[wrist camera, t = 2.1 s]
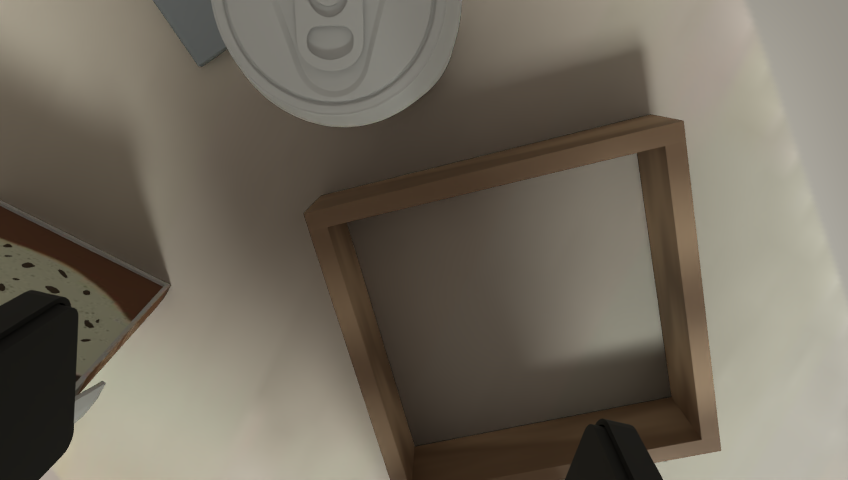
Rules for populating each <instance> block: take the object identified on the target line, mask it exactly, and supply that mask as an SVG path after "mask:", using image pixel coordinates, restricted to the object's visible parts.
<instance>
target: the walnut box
mask: <svg viewBox="0 0 848 480" xmlns="http://www.w3.org/2000/svg"><path fill="white" fill-rule="evenodd" d="M634 153H637V155H638V162H639V169H640V176H641V183H642V191H643V198H644V205H645V212H646V219H647V226H648V233H649V240H650V248H651V255H652V262H653V269H654V276H655V283H656V290H657V298H658V305H659V312H660V319H661V326H662V333H663V340H664V347H665V355H666V362H667V369H668V376H669V383H670V390H671V397H668V398H663V399H658V400H653V401H648V402H643V403H637V404H632V405H627V406H622V407H617V408H612V409H606V410H601V411H596V412H591V413H586V414H581V415H575V416H570V417H565V418H560V419H555V420H550V421H544V422H539V423H534V424H529V425H524V426H519V427H513V428H508V429H503V430H498V431H493V432H488V433H482V434H477V435H472V436H467V437H462V438H457V439H451V440H446V441H441V442H436V443H431V444H426V445H420V446H414V443H413V439H412V436H411V433H410V430H409V426H408V423H407V420H406V416H405V413H404V410H403V406H402V403H401V400H400V397H399V393H398V390H397V387H396V383H395V380H394V377H393V374H392V370H391V367H390V364H389V360H388V357H387V354H386V351H385V347H384V344H383V341H382V337H381V334H380V331H379V328H378V324H377V321H376V318H375V314H374V311H373V308H372V305H371V301H370V298H369V295H368V291H367V288H366V285H365V282H364V278H363V275H362V272H361V268H360V265H359V262H358V258H357V255H356V252H355V249H354V245H353V242H352V239H351V235H350V232H349V229H348V226H347V222H351V221H355V220H359V219H363V218H367V217H371V216H376V215H380V214H384V213H388V212H392V211H396V210H401V209H405V208H409V207H413V206H417V205H421V204H425V203H430V202H434V201H438V200H442V199H446V198H450V197H455V196H459V195H463V194H467V193H471V192H475V191H480V190H484V189H488V188H492V187H496V186H500V185H505V184H509V183H513V182H517V181H521V180H525V179H530V178H534V177H538V176H542V175H546V174H550V173H555V172H559V171H563V170H567V169H571V168H575V167H580V166H584V165H588V164H592V163H596V162H600V161H604V160H609V159H613V158H617V157H621V156H625V155H629V154H634ZM303 214H304V217H305V220H306V223H307V226H308V229H309V232H310V235H311V238H312V241H313V244H314V248H315V251H316V254H317V257H318V260H319V263H320V266H321V269H322V272H323V275H324V278H325V281H326V284H327V287H328V291H329V294H330V297H331V300H332V303H333V306H334V309H335V312H336V315H337V318H338V321H339V324H340V327H341V330H342V333H343V337H344V340H345V343H346V346H347V349H348V352H349V355H350V358H351V361H352V364H353V367H354V370H355V373H356V376H357V379H358V383H359V386H360V389H361V392H362V395H363V398H364V401H365V404H366V407H367V410H368V413H369V416H370V419H371V422H372V425H373V429H374V432H375V435H376V438H377V441H378V444H379V447H380V450H381V453H382V456H383V459H384V462H385V465H386V468H387V471H388V475H389V478H390V480H563V479H565V478H566V475H567V473H568V470H569V468H570V465H571V463H572V460H573V458H574V455H575V453H576V450H577V448H578V445H579V443H580V440H581V438H582V435H583V433H584V430H585V429H586V427H587V426H588V425H589V424H593V425H595V424H596V422H597V421H598V420H599V419H602V418H603V419H608V420H612V421H616V422H621V423H625V424H630V425H632V426H634V428H635V429H636V430H637V432H638V434H639V436H640V438H641V440H642V441H643V443H644V445H645V447H646V449H647V451H648V453H649V454H650V456H651V458H652V460H653V462H654V463H656V462H662V461H667V460H673V459H678V458H684V457H689V456H695V455H700V454H706V453H711V452H717V451H721V445H720V436H719V427H718V419H717V410H716V401H715V392H714V384H713V375H712V366H711V357H710V348H709V340H708V331H707V322H706V313H705V305H704V296H703V287H702V278H701V269H700V261H699V252H698V243H697V234H696V225H695V217H694V208H693V199H692V190H691V182H690V173H689V164H688V155H687V146H686V138H685V129H684V121H682V120H677V119H672V118H667V117H661V116H656V115H651V114H650V115H646V116H642V117H638V118H634V119H630V120H626V121H621V122H617V123H613V124H609V125H605V126H601V127H597V128H593V129H589V130H585V131H581V132H577V133H573V134H569V135H565V136H561V137H557V138H553V139H549V140H544V141H540V142H536V143H532V144H528V145H524V146H520V147H516V148H512V149H508V150H504V151H500V152H496V153H492V154H488V155H484V156H480V157H476V158H472V159H467V160H463V161H459V162H455V163H451V164H447V165H443V166H439V167H435V168H431V169H427V170H423V171H419V172H415V173H411V174H407V175H403V176H399V177H394V178H390V179H386V180H382V181H378V182H374V183H370V184H366V185H362V186H358V187H354V188H350V189H346V190H342V191H338V192H334V193H330V194H326V195H322V196H320V197H319V198H318V199H317V200H316V201H315V202H314V203H313V204H312V205H311V206H310V207H309V208H308V209H307V210H306V211H305V212H304V213H303Z"/></svg>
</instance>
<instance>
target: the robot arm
mask: <svg viewBox="0 0 848 480" xmlns="http://www.w3.org/2000/svg"><path fill="white" fill-rule="evenodd" d="M78 319H79V316H78V311H77V309H75V308H73V307H71V303H70V301H69V299H67V298H66V297H62V296H58V295H53V294H49V293H44V292H40V291H36V290H29V291H26V292H24V293H22V294H21V295H19V296H17V297H15V298H13V299H11V300H10V301H8V302H6V303H4V304H2V305H1V306H0V480H39V479H40V478H41V477H42V476H43V475H44V474H45V473H46V472H47V471H48V470H49V469H50V468H51V467H52V466H53V465H54V464H55V463H56V461H57V460H58V459H59V458H60V457H61V456H62V455H63V454H64V453H65V452H66V450H67V448H68V447H69V445H70V442H71V440H72V437H73V432H74V410H75V387H76V365H77V342H78ZM565 480H663V479H662V477H661V475H660V473H659V471H658V469H657V467H656V466H655V464H654V462H653V460H652V458H651V456H650V454H649V453H648V451H647V449H646V447H645V445H644V443H643V441H642V440H641V438H640V436H639V434H638V432H637V430H636V429H635V428H634V426H632V425H630V424H625V423H621V422H616V421H612V420H608V419H603V418H602V419H599V420H598V421H597V422H596V424H595V425H593V424H589V425H588V426H587V427H586V429H585V430H584V433H583V435H582V438H581V440H580V443H579V445H578V448H577V450H576V453H575V455H574V458H573V460H572V463H571V465H570V468H569V470H568V473H567V475H566V478H565Z"/></svg>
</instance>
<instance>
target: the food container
mask: <svg viewBox="0 0 848 480" xmlns="http://www.w3.org/2000/svg"><path fill="white" fill-rule="evenodd" d="M170 286H171V285H170V284H168V283H166V282H164V281H162V280H160V279H158V278H156V277H154V276H152V275H150V274H148V273H146V272H144V271H142V270H140V269H138V268H136V267H134V266H132V265H130V264H128V263H126V262H124V261H122V260H120V259H118V258H116V257H114V256H112V255H110V254H108V253H106V252H104V251H102V250H100V249H98V248H96V247H94V246H92V245H90V244H88V243H86V242H84V241H82V240H80V239H78V238H76V237H73V236H71V235H69V234H67V233H65V232H63V231H61V230H59V229H57V228H55V227H53V226H51V225H49V224H47V223H45V222H43V221H41V220H39V219H37V218H35V217H33V216H31V215H29V214H27V213H25V212H23V211H21V210H19V209H17V208H15V207H13V206H11V205H9V204H7V203H5V202H3V201H1V200H0V306H1V305H2V304H4V303H6V302H8V301H10V300H11V299H13V298H15V297H17V296H19V295H21V294H22V293H24V292H26V291H29V290H36V291H40V292H44V293H49V294H53V295H58V296H62V297H66V298H67V299H69V301H70V303H71V307H73V308H75V309H77V311H78V316H79V319H78V342H77V365H76V387H75V410H74V423H75V422H77V421H78V420H79V419H80V418H81V417H83V416H84V414H85V413H86V412H87V411H88V410H89V408H90V407H91V406H92V405H93V404H94V402H95V401H96V400H97V398H98V396H99V394H100V393H101V391H102V389H103V387H104V385H105V384H106V383H105V382H103V381H101V382H100V383H98V384H96V385H94V386H92V387H91V388H89V389H87V390H85V391H84V392H82V393H80V392H81V391H82V390H83V389H84V388H85V387H86V386H87V384H88V383H89V382H90V381H91V380H92V379H93V378H94V377H95V375H96V374H97V373H98V372H99V371H100V370H101V369H102V368H103V367H104V365H105V364H106V363H107V362H108V361H109V360H110V359H111V358H112V356H113V355H114V354H115V353H116V352H117V351H118V350H119V349H120V347H121V346H122V345H123V344H124V343H125V342H126V341H127V340H128V339H129V337H130V336H131V335H132V334H133V333H134V332H135V331H136V330H137V328H138V327H139V326H140V325H141V324H142V323H143V322H144V321H145V319H146V318H147V317H148V316H149V315H150V314H151V313H152V312H153V311H154V309H155V308H156V307H157V306H158V305H159V303H160V302H161V301H162V300H163V298H164V297H165V295H166V293H167V292H168V290H169V288H170ZM79 393H80V394H79Z"/></svg>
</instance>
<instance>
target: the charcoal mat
mask: <svg viewBox="0 0 848 480" xmlns="http://www.w3.org/2000/svg"><path fill="white" fill-rule="evenodd" d="M153 1H154V3H155V4H156V6H157V7H158V8H159V10H160V11H161V13H162V14H163V16H164V17H165V19H166V20H167V21H168V23H169V24H170V26H171V27H172V29H173V30H174V32H175V33H176V35H177V36H178V37H179V39H180V40H181V42H182V43H183V45H184V46H185V48H186V49H187V50H188V52H189V53H190V55H191V56H192V58H193V59H194V61H195V62H196V64H197V65H198V66H204V65H205V64H206V63H208V62H209V61H211V60H212V59H213V58H215V57H216V56H218V55H219V54H221V53H222V52H223V51H225V50H226V49H227V47H226V45H225V43H224V41H223V40H222V37H221V35H220V32H219V30H218V27H217V24H216V21H215V17H214V13H213V9H212V3H211V0H153Z"/></svg>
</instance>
